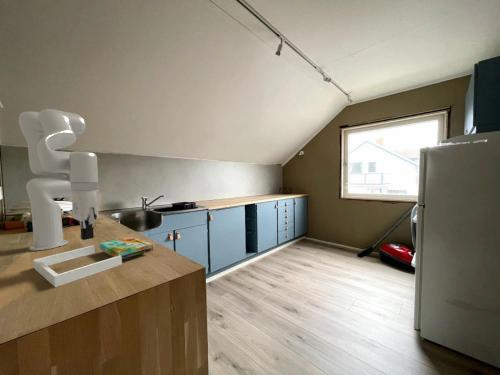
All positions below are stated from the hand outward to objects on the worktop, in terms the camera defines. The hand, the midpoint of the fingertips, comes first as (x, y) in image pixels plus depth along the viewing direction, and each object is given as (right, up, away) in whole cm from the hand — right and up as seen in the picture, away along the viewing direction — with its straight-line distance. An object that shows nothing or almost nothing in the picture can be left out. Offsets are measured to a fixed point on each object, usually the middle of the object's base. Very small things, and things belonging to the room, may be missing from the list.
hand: (87, 238), depth 73 cm
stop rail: (+11, -8, +15) cm, 20 cm away
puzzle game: (+9, -8, +8) cm, 14 cm away
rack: (0, -9, -3) cm, 9 cm away
